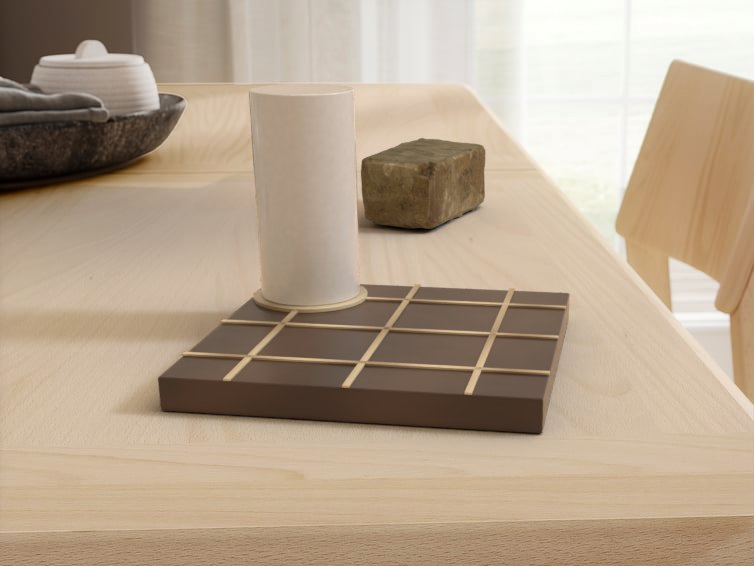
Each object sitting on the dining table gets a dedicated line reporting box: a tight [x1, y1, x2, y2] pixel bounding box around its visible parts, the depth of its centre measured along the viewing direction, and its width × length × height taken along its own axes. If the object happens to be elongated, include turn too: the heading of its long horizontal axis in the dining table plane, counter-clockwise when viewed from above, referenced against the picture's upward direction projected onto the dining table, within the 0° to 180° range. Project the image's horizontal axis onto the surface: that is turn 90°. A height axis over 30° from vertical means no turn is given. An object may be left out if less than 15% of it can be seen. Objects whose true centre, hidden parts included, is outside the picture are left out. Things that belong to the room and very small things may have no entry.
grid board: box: [157, 283, 570, 434], centre depth 55 cm, size 16×16×2 cm
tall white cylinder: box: [248, 83, 361, 306], centre depth 58 cm, size 5×5×10 cm
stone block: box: [360, 137, 486, 230], centre depth 85 cm, size 6×12×5 cm, turn 159°
